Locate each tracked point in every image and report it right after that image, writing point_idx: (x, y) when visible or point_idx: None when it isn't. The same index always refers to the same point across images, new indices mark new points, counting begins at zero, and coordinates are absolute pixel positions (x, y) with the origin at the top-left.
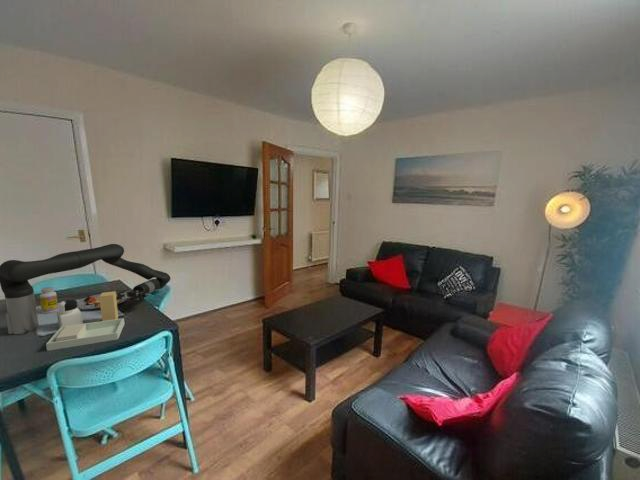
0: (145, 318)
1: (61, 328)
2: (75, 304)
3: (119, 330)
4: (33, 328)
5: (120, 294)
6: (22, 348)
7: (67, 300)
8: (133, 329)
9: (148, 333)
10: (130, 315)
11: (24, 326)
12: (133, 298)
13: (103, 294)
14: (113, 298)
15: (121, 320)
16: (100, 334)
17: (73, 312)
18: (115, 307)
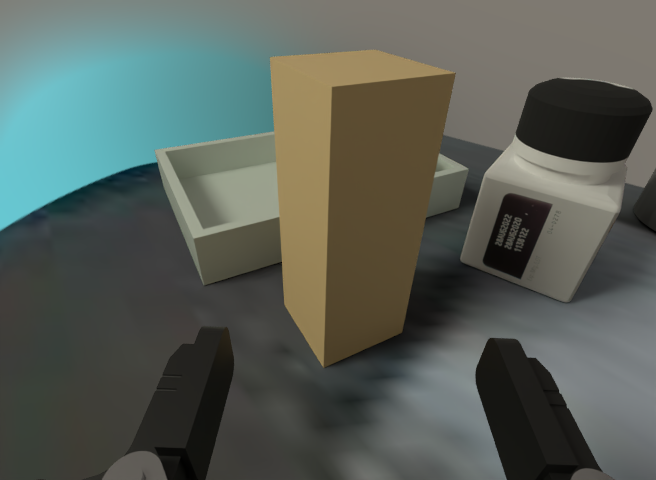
0: (67, 403)
1: (445, 161)
2: (533, 112)
3: (165, 179)
4: (646, 212)
5: (574, 473)
6: (475, 158)
7: (624, 90)
8: (126, 258)
9: (25, 234)
10: (257, 456)
11: (651, 176)
12: (175, 358)
13: (385, 60)
14: (273, 100)
15: (194, 217)
16: (267, 196)
17: (513, 160)
18: (293, 220)
